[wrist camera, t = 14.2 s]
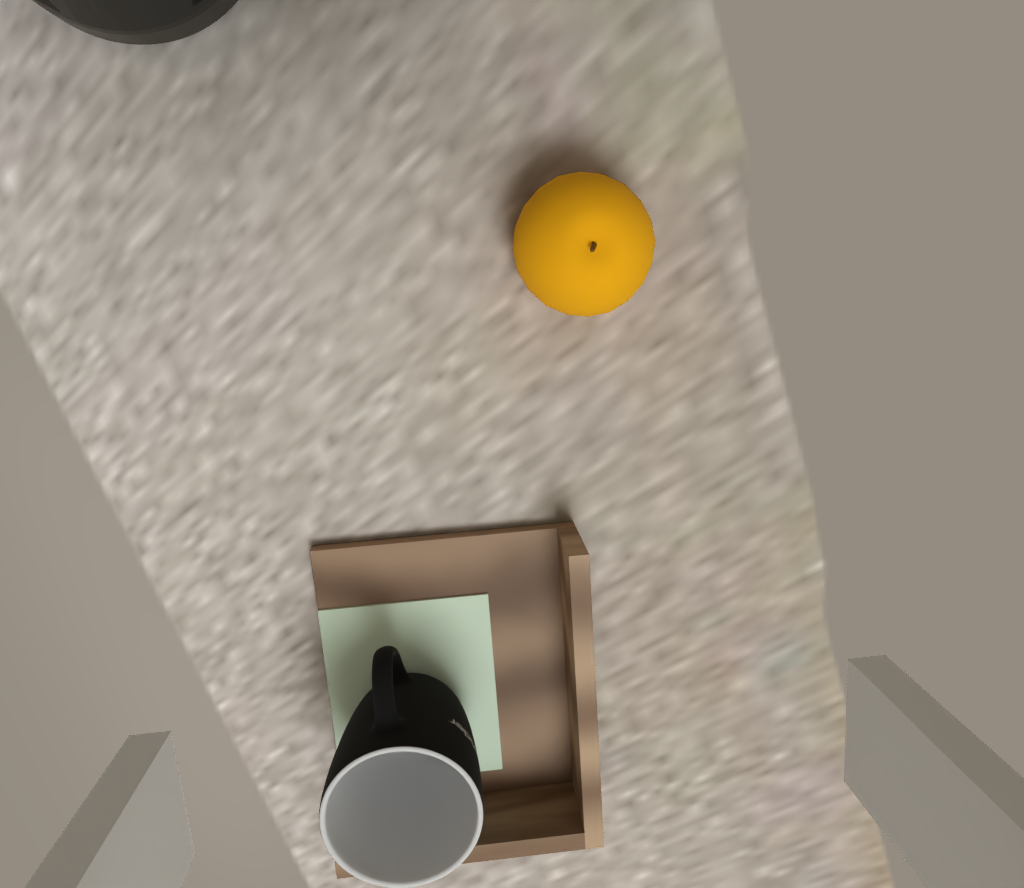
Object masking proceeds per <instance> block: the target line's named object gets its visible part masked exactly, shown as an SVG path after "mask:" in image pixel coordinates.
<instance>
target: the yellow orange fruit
mask: <svg viewBox="0 0 1024 888" xmlns="http://www.w3.org/2000/svg"><path fill="white" fill-rule="evenodd" d="M654 247H655V236H654V231H653V227H652V222H651V219H650V217H649V215H648V213H647V211H646V210H645V208H644V206H643V204H642V202H641V200H640V199H639V198H637V197H636V196H635V195H634V194H633V193H632V192H631V191H630V190H629V189H628V188H627V187H626V186H625V185H624V184H623V183H621V182H619V181H616V180H614V179H612V178H610V177H608V176H606V175H603V174H597V173H590V172H582V171H581V172H575V173H570V174H565V175H560V176H557V177H556V178H554V179H552V180H551V181H549V182H548V183H546V184H545V185H543V186H542V187H540V188H539V189H538V190H537V191H536V192H535V193H534V195H533V196H532V197H531V198H530V199H529V201H528V202H527V203H526V204H525V205H524V207H523V209H522V212H521V214H520V217H519V219H518V221H517V224H516V226H515V231H514V241H513V254H514V258H515V262H516V267H517V271H518V273H519V274H520V276H521V278H522V279H523V281H524V283H525V284H526V286H527V288H528V289H529V290H530V291H531V292H532V293H533V294H534V295H535V296H536V297H537V298H538V299H539V300H540V301H542V302H543V303H544V304H545V305H546V306H548V307H551V308H553V309H555V310H558V311H560V312H562V313H565V314H568V315H577V316H586V317H588V316H593V315H598V314H603V313H608V312H611V311H612V310H614V309H615V308H617V307H619V306H620V305H622V304H623V303H625V302H627V301H628V300H629V299H630V298H631V297H632V296H633V294H634V293H635V292H636V291H637V290H638V289H639V288H640V286H641V285H642V284H643V282H644V280H645V278H646V276H647V273H648V271H649V269H650V267H651V265H652V261H653V254H654Z"/></svg>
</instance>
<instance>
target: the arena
mask: <svg viewBox="0 0 1024 888" xmlns="http://www.w3.org/2000/svg"><path fill="white" fill-rule="evenodd" d="M310 556H311V563H312V570H313V578H314V585H315V592H316V599H317V606H318V610H320V609H330V608H340V607H350V606H361V605H371V604H381V603H391V602H401V601H412V600H422V599H432V598H442V597H452V596H462V595H473V594H483V593H488V600H489V612H490V624H491V636H492V648H493V660H494V672H495V684H496V696H497V708H498V719H499V731H500V743H501V755H502V767H503V769H499V770H490V771H481V772H480V773H481V780H482V788H483V798H484V818H483V825H482V830H481V833H480V836H479V839H478V841H477V843H476V845H475V847H474V849H473V850H472V852H471V853H470V855H469V856H468V857H467V858H466V859H465V861H464V862H463V863H461V864H464V863H472V862H481V861H489V860H497V859H506V858H514V857H523V856H531V855H539V854H548V853H556V852H565V851H573V850H581V849H590V848H598V847H604V837H603V818H602V798H601V779H600V759H599V740H598V720H597V701H596V681H595V662H594V642H593V622H592V603H591V583H590V564H589V553H588V551H587V549H586V547H585V545H584V543H583V541H582V539H581V537H580V535H579V533H578V531H577V529H576V527H575V524H574V522H563V523H553V524H542V525H531V526H520V527H510V528H499V529H488V530H478V531H467V532H456V533H445V534H435V535H424V536H413V537H403V538H392V539H381V540H370V541H360V542H349V543H338V544H328V545H317V546H312V548H311V550H310ZM335 867H336V874H337V879H338V878H346V877H355V876H353V875H351V874H350V873H348V872H347V871H346V870H344V869H343V868H342V867H341V866H340V865H339V864H338V863H337V862H336V861H335Z"/></svg>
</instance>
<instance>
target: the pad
mask: <svg viewBox="0 0 1024 888" xmlns="http://www.w3.org/2000/svg"><path fill="white" fill-rule="evenodd" d="M318 619H319V626H320V633H321V640H322V647H323V655H324V662H325V669H326V676H327V683H328V691H329V698H330V705H331V712H332V719H333V727H334V734H335V741H336V748H337V747H338V745H339V742H340V740H341V737H342V735H343V733H344V730H345V728H346V726H347V724H348V722H349V720H350V718H351V716H352V714H353V713H354V711H355V709H356V708H357V706H358V705H359V703H360V702H361V700H362V699H363V698H364V696H365V695H366V694H367V693H368V692H369V691H370V690H371V689H372V661H373V656H374V653H375V652H376V650H377V649H379V648H381V647H383V646H393V647H395V648H396V649H397V650H398V652H399V654H400V656H401V659H402V662H403V665H404V667H405V670H406V671H407V673H421V674H426V675H429V676H432V677H434V678H436V679H438V680H440V681H441V682H443V683H444V684H445V685H447V686H448V687H449V688H450V689H451V690H452V691H453V692H454V693H455V695H456V696H457V698H458V699H459V701H460V702H461V704H462V706H463V708H464V710H465V713H466V715H467V718H468V721H469V723H470V727H471V730H472V734H473V737H474V741H475V746H476V750H477V755H478V760H479V766H480V772H481V771H490V770H499V769H503V767H502V755H501V743H500V731H499V719H498V708H497V696H496V684H495V672H494V660H493V648H492V636H491V624H490V612H489V600H488V593H483V594H473V595H462V596H452V597H442V598H432V599H422V600H412V601H401V602H391V603H381V604H371V605H361V606H350V607H340V608H330V609H320V610H318Z"/></svg>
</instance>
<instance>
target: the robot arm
mask: <svg viewBox="0 0 1024 888" xmlns="http://www.w3.org/2000/svg"><path fill="white" fill-rule="evenodd" d="M33 1H34V2H36V3H37V4H38V5H40V6H41V7H43V8H44V9H46V10H47V11H49V12H50V13H52V14H54V15H55V16H57V17H58V18H60V19H61V20H63V21H64V22H66V23H68V24H70V25H72V26H73V27H75V28H77V29H79V30H82V31H84V32H86V33H88V34H91V35H94V36H96V37H99V38H103V39H106V40H110V41H115V42H120V43H127V44H158V43H165V42H171V41H174V40H178V39H182V38H184V37H187V36H190V35H192V34H194V33H197V32H199V31H201V30H203V29H204V28H206V27H208V26H209V25H211V24H212V23H214V22H215V21H217V20H218V19H219V18H221V17H222V16H223V15H224V14H225V13H226V12H227V11H228V10H230V9H231V8H232V7H233V5H234V4H235V3H236V2H237V1H238V0H33ZM847 672H848V673H847V703H846V735H845V767H844V781H845V782H846V784H847V785H848V786H849V788H850V789H851V790H852V791H853V793H854V794H855V795H856V797H857V798H858V799H859V801H860V802H861V803H862V804H863V806H864V807H865V808H866V810H867V811H868V812H869V814H870V815H871V816H872V817H873V819H874V820H875V821H876V823H877V824H878V825H879V827H880V828H881V829H882V830H883V832H884V833H885V834H886V836H887V837H888V838H889V840H890V841H891V842H892V843H893V845H894V846H895V847H896V849H897V850H898V851H899V853H900V854H901V855H902V856H903V858H904V859H905V860H906V862H907V863H908V864H909V866H910V867H911V868H912V869H913V871H914V872H915V873H916V875H917V876H918V877H919V879H920V880H921V881H922V882H923V884H924V885H925V886H926V887H927V888H1024V778H1023V777H1022V776H1021V775H1020V774H1019V773H1017V772H1016V771H1015V770H1014V769H1013V768H1012V767H1011V766H1010V765H1008V764H1007V763H1006V762H1005V761H1004V760H1003V759H1002V758H1001V757H999V756H998V755H997V754H996V753H995V752H994V751H993V750H992V749H990V748H989V747H988V746H987V745H986V744H985V743H984V742H982V741H981V740H980V739H979V738H978V737H977V736H976V735H975V734H973V733H972V732H971V731H970V730H969V729H968V728H966V726H964V725H963V724H962V723H961V722H960V721H959V720H958V719H957V718H955V717H954V716H953V715H952V714H951V713H950V712H949V711H948V710H946V709H945V708H944V707H943V706H942V705H941V704H940V703H939V702H937V701H936V700H935V699H934V698H933V697H932V696H931V695H930V694H928V693H927V692H926V691H925V690H924V689H923V688H922V687H921V686H919V685H918V684H917V683H916V682H915V681H914V680H913V679H912V678H910V677H909V676H908V675H907V674H906V673H905V672H904V671H903V670H901V669H900V668H899V667H898V666H897V665H896V664H895V663H894V662H892V661H891V660H890V659H889V658H888V657H887V656H886V655H881V656H871V657H862V658H854V659H848V671H847ZM194 857H195V852H194V846H193V842H192V836H191V831H190V826H189V821H188V815H187V811H186V805H185V800H184V794H183V790H182V784H181V779H180V774H179V769H178V763H177V759H176V753H175V748H174V743H173V737H172V732H171V731H167V732H156V733H147V734H137V735H130V736H129V737H128V738H127V740H126V741H125V743H124V744H123V745H122V747H121V748H120V750H119V751H118V753H117V754H116V756H115V757H114V759H113V760H112V762H111V763H110V764H109V766H108V767H107V769H106V770H105V772H104V773H103V775H102V776H101V778H100V779H99V780H98V782H97V783H96V785H95V786H94V788H93V789H92V790H91V792H90V793H89V795H88V796H87V798H86V799H85V801H84V802H83V804H82V805H81V806H80V808H79V810H78V811H77V812H76V814H75V815H74V817H73V818H72V819H71V821H70V822H69V824H68V825H67V827H66V828H65V830H64V831H63V833H62V834H61V836H60V837H59V838H58V840H57V841H56V843H55V844H54V846H53V847H52V849H51V850H50V851H49V853H48V854H47V856H46V857H45V859H44V860H43V862H42V863H41V864H40V866H39V867H38V869H37V871H36V872H35V873H34V875H33V876H32V878H31V879H30V880H29V882H28V883H27V885H26V886H25V888H181V887H182V885H183V883H184V880H185V878H186V876H187V873H188V871H189V869H190V866H191V864H192V862H193V860H194Z"/></svg>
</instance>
